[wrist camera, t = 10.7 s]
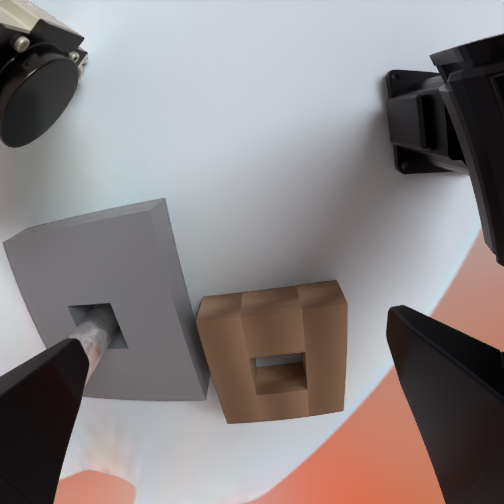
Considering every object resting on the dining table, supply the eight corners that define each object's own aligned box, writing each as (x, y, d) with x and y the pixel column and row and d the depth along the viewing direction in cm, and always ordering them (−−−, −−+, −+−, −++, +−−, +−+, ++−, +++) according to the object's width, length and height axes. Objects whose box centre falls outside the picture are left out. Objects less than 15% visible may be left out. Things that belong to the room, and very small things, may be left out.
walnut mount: (336, 280, 21) (347, 303, 18) (336, 384, 24) (343, 410, 22) (203, 296, 21) (195, 321, 19) (229, 397, 25) (227, 423, 22)
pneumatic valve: (95, 138, 17) (-54, 169, 6) (5, 59, 15) (-116, 53, 4) (148, 67, 16) (19, 12, 5) (46, -3, 13) (-67, -43, 2)
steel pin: (122, 290, 21) (68, 367, 13) (132, 318, 22) (87, 399, 14) (95, 292, 22) (37, 364, 14) (106, 320, 22) (57, 396, 15)
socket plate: (165, 198, 19) (149, 210, 16) (210, 373, 24) (205, 400, 21) (26, 228, 20) (2, 242, 17) (86, 373, 25) (73, 395, 22)
